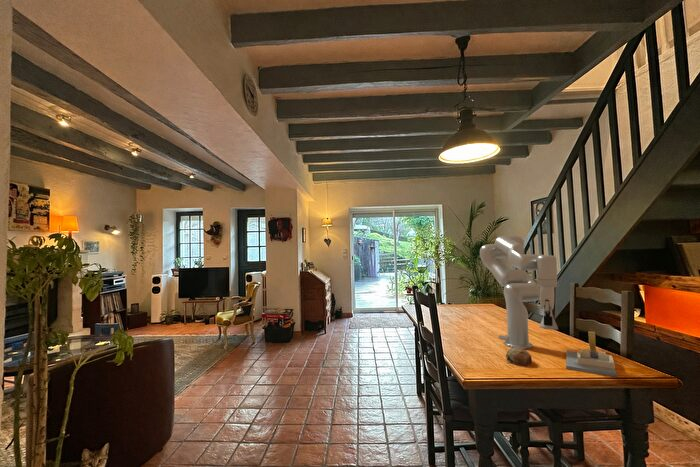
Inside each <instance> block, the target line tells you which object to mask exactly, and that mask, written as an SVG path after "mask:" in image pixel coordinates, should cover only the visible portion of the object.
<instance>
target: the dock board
mask: <svg viewBox="0 0 700 467" xmlns="http://www.w3.org/2000/svg"><path fill="white" fill-rule="evenodd" d="M565 360H566V363H565V364H566V365H565V368H566V369H565V370H573V371H578V372H584V373H589V374H595V375H602V376H609V377H615V378H617V377H618V373H617V370H616V364H615V361H614V358H613V356H612V354H611V355H610V354H607V353H606V351H604V350H597V358H596V357H591V352H590V348H589V349H587V348H582V350H577V351H575V350H566V359H565Z"/></svg>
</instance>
